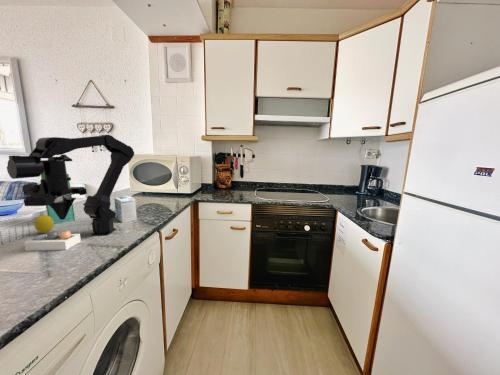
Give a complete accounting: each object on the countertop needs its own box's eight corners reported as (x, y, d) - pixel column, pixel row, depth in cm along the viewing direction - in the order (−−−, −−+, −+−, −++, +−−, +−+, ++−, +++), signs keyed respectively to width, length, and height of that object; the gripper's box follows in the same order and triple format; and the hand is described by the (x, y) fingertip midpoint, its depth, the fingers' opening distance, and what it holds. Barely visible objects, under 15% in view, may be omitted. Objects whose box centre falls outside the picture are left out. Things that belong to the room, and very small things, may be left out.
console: (44, 241, 78) (42, 234, 77) (80, 241, 79) (79, 233, 78) (25, 250, 71) (24, 242, 70) (66, 249, 72) (64, 241, 71)
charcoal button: (61, 238, 76) (60, 230, 76) (54, 242, 73) (53, 234, 73) (52, 238, 76) (51, 230, 75) (45, 242, 73) (44, 234, 72)
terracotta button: (73, 238, 76) (72, 230, 76) (67, 241, 73) (65, 233, 73) (64, 238, 76) (63, 230, 76) (58, 242, 73) (56, 233, 73)
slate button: (50, 241, 76) (48, 234, 75) (42, 245, 73) (41, 237, 72) (41, 242, 76) (40, 234, 75) (33, 245, 73) (32, 237, 72)
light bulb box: (115, 218, 106) (113, 197, 104) (130, 215, 111) (128, 195, 109) (122, 223, 99) (120, 200, 97) (137, 219, 104) (135, 198, 102)
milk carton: (75, 220, 102) (67, 169, 98) (49, 224, 96) (40, 170, 91) (72, 216, 108) (65, 168, 104) (48, 220, 102) (39, 169, 97)
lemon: (53, 230, 90) (50, 212, 88) (56, 233, 86) (53, 214, 85) (35, 233, 85) (32, 214, 84) (37, 237, 82) (33, 217, 80)
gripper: (54, 172, 80) (60, 211, 82) (-1, 179, 61) (9, 229, 64) (85, 172, 80) (90, 211, 83) (39, 178, 62) (48, 229, 65)
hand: (62, 219), depth 74 cm, fingers closed
